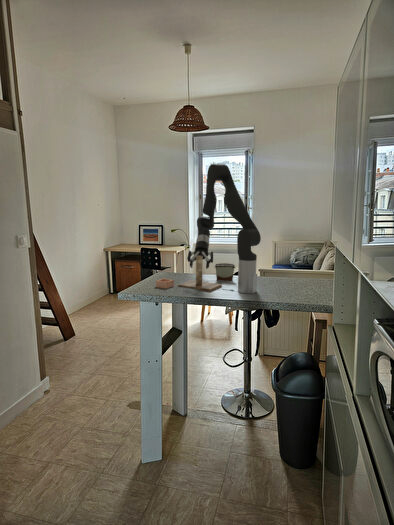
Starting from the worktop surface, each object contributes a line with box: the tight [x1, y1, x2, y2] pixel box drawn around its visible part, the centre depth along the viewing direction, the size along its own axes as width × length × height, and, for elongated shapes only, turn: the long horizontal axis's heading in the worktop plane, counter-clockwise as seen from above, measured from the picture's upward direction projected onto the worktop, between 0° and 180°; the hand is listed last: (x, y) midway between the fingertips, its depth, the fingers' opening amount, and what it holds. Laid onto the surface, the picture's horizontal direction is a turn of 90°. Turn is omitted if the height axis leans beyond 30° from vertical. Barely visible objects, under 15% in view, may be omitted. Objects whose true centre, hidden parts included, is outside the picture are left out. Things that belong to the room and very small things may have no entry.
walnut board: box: [177, 279, 223, 293], centre depth 196 cm, size 20×14×2 cm
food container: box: [214, 262, 236, 282], centre depth 214 cm, size 12×6×10 cm, turn 84°
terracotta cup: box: [155, 278, 175, 289], centre depth 194 cm, size 7×7×4 cm
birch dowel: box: [195, 256, 204, 285], centre depth 194 cm, size 4×4×16 cm
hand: (199, 267), depth 193 cm, fingers open, 8 cm apart
